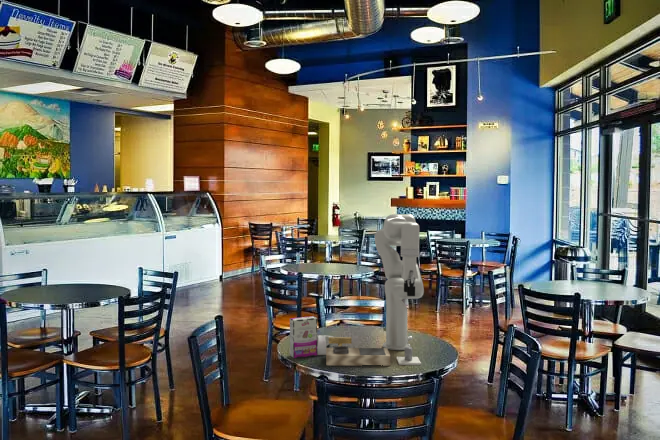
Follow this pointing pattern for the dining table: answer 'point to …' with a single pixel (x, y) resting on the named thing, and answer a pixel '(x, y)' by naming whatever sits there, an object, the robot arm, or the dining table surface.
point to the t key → (340, 340)
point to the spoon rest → (322, 344)
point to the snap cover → (408, 358)
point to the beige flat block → (357, 356)
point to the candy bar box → (303, 337)
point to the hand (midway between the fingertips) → (409, 294)
